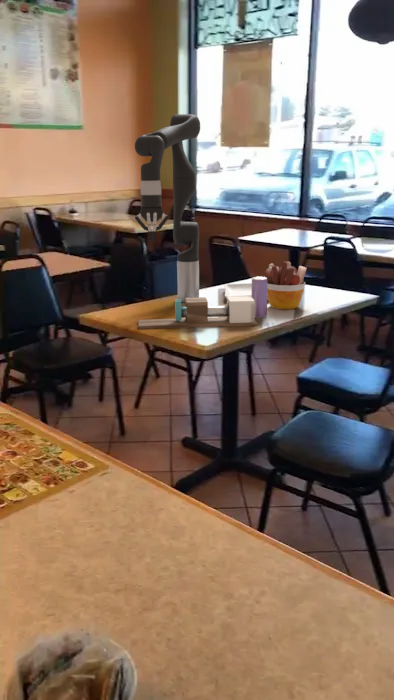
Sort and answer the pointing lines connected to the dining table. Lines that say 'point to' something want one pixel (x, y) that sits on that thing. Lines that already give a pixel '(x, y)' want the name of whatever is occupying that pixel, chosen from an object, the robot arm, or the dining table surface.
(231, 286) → the square plate
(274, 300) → the bucket of meat
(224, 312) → the slip tube
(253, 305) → the socket
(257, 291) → the beverage can
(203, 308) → the rail board
